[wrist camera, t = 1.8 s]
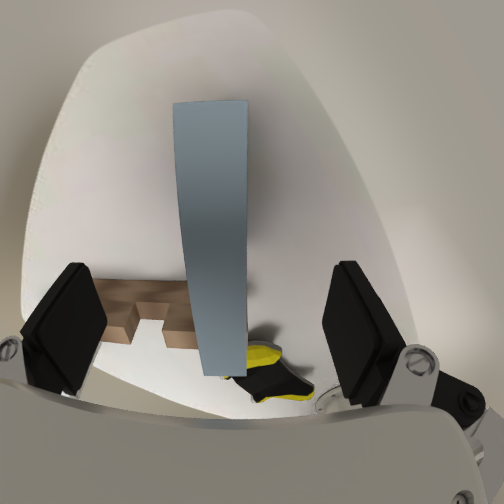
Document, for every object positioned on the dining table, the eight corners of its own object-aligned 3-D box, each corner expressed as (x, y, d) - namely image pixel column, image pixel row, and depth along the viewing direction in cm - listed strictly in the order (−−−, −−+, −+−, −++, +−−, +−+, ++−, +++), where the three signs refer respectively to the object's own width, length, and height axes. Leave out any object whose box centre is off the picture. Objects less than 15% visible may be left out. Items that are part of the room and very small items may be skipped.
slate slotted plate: (243, 246, 29) (246, 376, 15) (220, 246, 29) (204, 375, 15) (244, 107, 22) (247, 100, 8) (216, 108, 22) (173, 103, 8)
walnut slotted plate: (246, 281, 31) (247, 332, 24) (246, 298, 32) (247, 349, 25) (90, 278, 30) (62, 320, 23) (95, 294, 31) (70, 336, 24)
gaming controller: (270, 318, 34) (208, 345, 36) (275, 350, 29) (204, 376, 32) (314, 371, 41) (261, 391, 43) (320, 399, 36) (262, 417, 38)
